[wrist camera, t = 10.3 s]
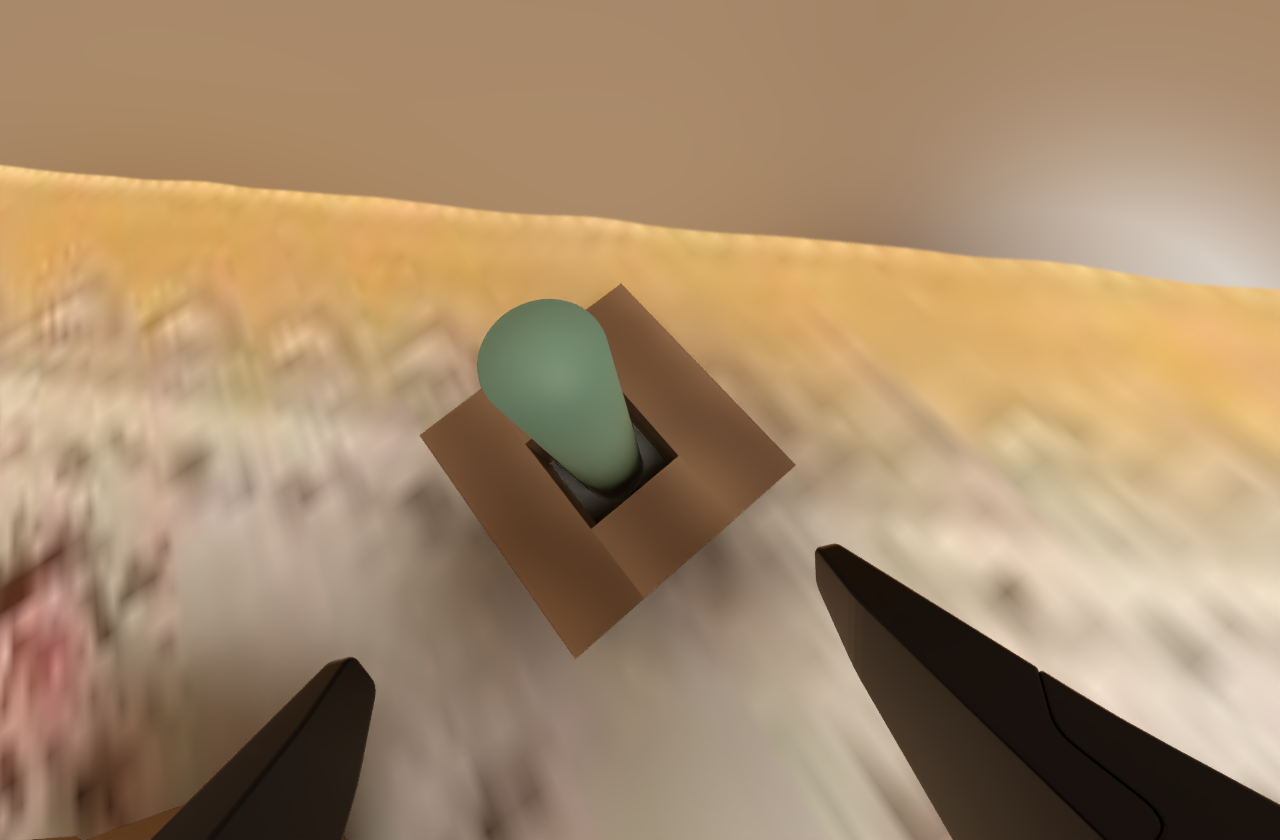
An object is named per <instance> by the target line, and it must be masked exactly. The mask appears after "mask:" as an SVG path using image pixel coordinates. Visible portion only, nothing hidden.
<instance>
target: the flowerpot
mask: <svg viewBox="0 0 1280 840" xmlns="http://www.w3.org/2000/svg"><path fill="white" fill-rule="evenodd" d="M183 806H184V805H182V806H180V807H177V808H174V809H171V810H169V811H166V812H163V813H160V814H157V815H155V816H152V817H149V818H146V819H143V820H141V821H138V822H135V823H132V824H129V825H127V826H124V827H121V828H118V829H115V830H113V831H110V832H107V833H104V834H101V835H99V836H96V837H93V838H90V839H87V840H150V839H151V838H152V837H153V836H154V835H155V834H156V833H157V832H158V831H159V830H160V829H161V828H162V827H163V826H164V825H165V824H166V823H167V822H168V821H169V820H170V819H171V818H172V817H173V816H174V815H175V814H176V813H177V812H178V811H179V810H180V809H181V808H182V807H183ZM34 840H81V839H80V838H79V837H77V836H72V837H59V838H46V839H34ZM342 840H345V837H344V835H343V839H342Z"/></svg>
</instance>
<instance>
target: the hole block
mask: <svg viewBox="0 0 1280 840" xmlns="http://www.w3.org/2000/svg"><path fill="white" fill-rule="evenodd" d="M586 311H588V312H589V313H590V314H591V315H592V316H593V317H594V318H595V319H596V320H597V321H598V322H599V324H600V325H601V327H602V329H603V330H604V333H605V335H606V338H607V341H608V344H609V348H610V351H611V355H612V358H613V362H614V365H615V368H616V372H617V375H618V379H619V382H620V386H621V389H622V392H623V396H624V399H625V403H626V406H627V410H628V413H629V416H630V419H631V421H632V422H633V423H634V424H635V425H636V426H637V427H638V429H639V430H640V431H641V432H642V433H643V434H644V436H645V437H646V438H647V439H648V440H649V441H650V442H651V444H652V445H653V446H654V447H655V448H656V449H657V450H658V452H659V453H660V454H661V455H662V456H663V457H664V459H665V460H666V461H667V462H668V463H669V464H668V465H667V466H666V467H665V468H664V469H662V470H661V471H660V472H659V473H658V474H657V475H655V476H654V477H653V478H652V479H651V480H649V481H648V482H647V483H646V484H645V485H643V486H642V487H641V488H640V489H639V490H637V491H636V492H635V493H634V494H633V495H631V496H630V497H629V498H628V499H627V500H625V501H624V502H623V503H622V504H621V505H619V506H618V507H617V508H616V509H615V510H613V511H612V512H611V513H610V514H609V515H607V516H606V517H605V518H604V519H603V520H602V521H600V522H599V523H598V524H596V522H595V521H594V520H593V519H592V517H591V516H590V515H589V513H588V512H587V511H586V510H585V508H584V507H583V506H582V504H581V503H580V502H579V501H578V499H577V498H576V497H575V495H574V494H573V493H572V492H571V490H570V489H569V488H568V486H567V485H566V484H565V483H564V481H563V480H562V479H561V477H560V476H559V475H558V474H557V472H556V471H555V470H554V468H553V467H552V466H551V465H550V462H551V461H553V460H554V458H553V457H552V456H551V455H550V454H549V453H548V452H546V451H545V450H544V449H543V448H542V447H541V446H540V445H538V444H537V443H536V442H535V441H534V440H533V439H532V438H530V437H529V436H528V435H527V434H526V433H525V432H524V431H522V430H521V429H520V428H519V427H518V426H517V425H516V424H514V423H513V422H512V421H511V420H510V419H509V418H508V417H506V416H505V415H504V414H503V413H502V412H501V411H500V410H499V409H497V408H496V407H495V406H494V405H493V404H492V403H491V402H490V401H489V399H488V398H487V396H486V395H485V393H484V391H483V389H481V390H479V391H478V392H477V393H475V394H474V395H473V396H471V397H470V398H469V399H467V400H466V401H465V402H463V403H462V404H461V405H459V406H458V407H457V408H455V409H454V410H453V411H451V412H450V413H449V414H447V415H446V416H445V417H443V418H442V419H441V420H439V421H438V422H437V423H435V424H434V425H433V426H431V427H430V428H429V429H427V430H426V431H425V432H423V433H422V434H421V435H420V437H421V438H422V439H423V441H424V442H425V444H426V445H427V447H428V448H429V450H430V451H431V452H432V454H433V455H434V457H435V458H436V460H437V461H438V462H439V464H440V465H441V467H442V468H443V470H444V471H445V473H446V474H447V475H448V477H449V478H450V480H451V481H452V483H453V484H454V485H455V487H456V488H457V490H458V491H459V493H460V494H461V496H462V497H463V498H464V500H465V501H466V503H467V504H468V506H469V507H470V508H471V510H472V511H473V513H474V514H475V516H476V517H477V519H478V520H479V521H480V523H481V524H482V526H483V527H484V529H485V530H486V532H487V533H488V534H489V536H490V537H491V539H492V540H493V542H494V543H495V544H496V546H497V547H498V549H499V550H500V552H501V553H502V555H503V556H504V557H505V559H506V560H507V562H508V563H509V565H510V566H511V567H512V569H513V570H514V572H515V573H516V575H517V576H518V578H519V579H520V580H521V582H522V583H523V585H524V586H525V588H526V589H527V590H528V592H529V593H530V595H531V596H532V598H533V599H534V601H535V602H536V603H537V605H538V606H539V608H540V609H541V611H542V612H543V614H544V615H545V616H546V618H547V619H548V621H549V622H550V624H551V625H552V626H553V628H554V629H555V631H556V632H557V634H558V635H559V637H560V638H561V639H562V641H563V642H564V644H565V645H566V647H567V648H568V649H569V651H570V652H571V654H572V655H573V657H574V658H575V659H576V658H577V657H578V656H579V655H580V654H582V653H583V652H584V651H585V650H586V649H587V648H588V647H590V646H591V645H592V644H593V643H594V642H595V641H596V640H597V639H599V638H600V637H601V636H602V635H603V634H604V633H605V632H607V631H608V630H609V629H610V628H611V627H612V626H613V625H615V624H616V623H617V622H618V621H619V620H620V619H621V618H622V617H624V616H625V615H626V614H627V613H628V612H629V611H630V610H632V609H633V608H634V607H635V606H636V605H637V604H638V603H640V602H641V601H642V600H643V599H644V598H645V597H646V596H648V595H649V594H650V593H651V592H652V591H653V590H654V589H655V588H657V587H658V586H659V585H660V584H661V583H662V582H663V581H665V580H666V579H667V578H668V577H669V576H670V575H671V574H673V573H674V572H675V571H676V570H677V569H678V568H679V567H680V566H682V565H683V564H684V563H685V562H686V561H687V560H688V559H690V558H691V557H692V556H693V555H694V554H695V553H696V552H698V551H699V550H700V549H701V548H702V547H703V546H704V545H705V544H707V543H708V542H709V541H710V540H711V539H712V538H713V537H715V536H716V535H717V534H718V533H719V532H720V531H721V530H723V529H724V528H725V527H726V526H727V525H728V524H729V523H731V522H732V521H733V520H734V519H735V518H736V517H737V516H738V515H740V514H741V513H742V512H743V511H744V510H745V509H746V508H748V507H749V506H750V505H751V504H752V503H753V502H754V501H756V500H757V499H758V498H759V497H760V496H761V495H762V494H763V493H765V492H766V491H767V490H768V489H769V488H770V487H771V486H773V485H774V484H775V483H776V482H777V481H778V480H779V479H781V478H782V477H783V476H784V475H785V474H786V473H787V472H788V471H790V470H791V469H792V468H793V467H794V466H795V464H794V463H793V462H792V461H791V460H790V459H789V458H788V457H787V456H786V454H785V453H784V452H783V451H782V450H781V449H780V448H779V447H778V446H777V445H776V444H775V443H774V442H773V441H772V440H771V439H770V438H769V437H768V436H767V435H766V434H765V433H764V432H763V431H762V430H761V429H760V427H759V426H758V425H757V424H756V423H755V422H754V421H753V420H752V419H751V418H750V417H749V416H748V415H747V414H746V413H745V412H744V411H743V410H742V409H741V408H740V407H739V406H738V405H737V404H736V403H735V401H734V400H733V399H732V398H731V397H730V396H729V395H728V394H727V393H726V392H725V391H724V390H723V389H722V388H721V387H720V386H719V385H718V384H717V383H716V382H715V381H714V380H713V379H712V378H711V377H710V375H709V374H708V373H707V372H706V371H705V370H704V369H703V368H702V367H701V366H700V365H699V364H698V363H697V362H696V361H695V360H694V359H693V358H692V357H691V356H690V355H689V354H688V353H687V352H686V351H685V349H684V348H683V347H682V346H681V345H680V344H679V343H678V342H677V341H676V340H675V339H674V338H673V337H672V336H671V335H670V334H669V333H668V332H667V331H666V330H665V329H664V328H663V327H662V326H661V325H660V324H659V322H658V321H657V320H656V319H655V318H654V317H653V316H652V315H651V314H650V313H649V312H648V311H647V310H646V309H645V308H644V307H643V306H642V305H641V304H640V303H639V302H638V301H637V300H636V299H635V298H634V296H633V295H632V294H631V293H630V292H629V291H628V290H627V289H626V288H625V287H624V286H623V285H622V284H620V285H619V286H617V287H616V288H615V289H613V290H612V291H611V292H609V293H608V294H607V295H605V296H604V297H603V298H601V299H600V300H599V301H597V302H596V303H595V304H593V305H592V306H591V307H589V308H588V309H587V310H586Z"/></svg>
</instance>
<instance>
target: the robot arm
mask: <svg viewBox="0 0 1280 840" xmlns="http://www.w3.org/2000/svg"><path fill="white" fill-rule="evenodd" d="M815 568H816V582H817V586H818V588H819V591H820V593H821V596H822V598H823V600H824V602H825V605H826V607H827V609H828V611H829V614H830V616H831V618H832V620H833V622H834V625H835V627H836V629H837V631H838V634H839V636H840V638H841V640H842V643H843V645H844V647H845V649H846V652H847V654H848V656H849V658H850V660H851V662H852V665H853V667H854V669H855V671H856V672H857V674H858V676H859V678H860V680H861V682H862V683H863V685H864V687H865V688H866V690H867V692H868V694H869V695H870V697H871V699H872V701H873V702H874V704H875V706H876V708H877V709H878V711H879V713H880V714H881V716H882V718H883V720H884V721H885V723H886V725H887V727H888V728H889V730H890V732H891V734H892V735H893V737H894V739H895V740H896V742H897V744H898V746H899V747H900V749H901V751H902V753H903V754H904V756H905V758H906V760H907V761H908V763H909V765H910V766H911V768H912V770H913V772H914V773H915V775H916V777H917V779H918V780H919V782H920V784H921V786H922V787H923V789H924V791H925V792H926V794H927V796H928V798H929V799H930V801H931V803H932V805H933V806H934V808H935V810H936V812H937V813H938V815H939V817H940V818H941V820H942V822H943V824H944V825H945V827H946V829H947V831H948V832H949V834H950V836H951V838H952V839H953V840H1280V804H1278V803H1276V802H1274V801H1272V800H1270V799H1269V798H1267V797H1265V796H1263V795H1261V794H1259V793H1257V792H1256V791H1254V790H1252V789H1250V788H1248V787H1246V786H1244V785H1243V784H1241V783H1239V782H1237V781H1235V780H1233V779H1231V778H1230V777H1228V776H1226V775H1224V774H1222V773H1220V772H1218V771H1217V770H1215V769H1213V768H1211V767H1209V766H1207V765H1205V764H1204V763H1202V762H1200V761H1198V760H1196V759H1194V758H1192V757H1191V756H1189V755H1187V754H1185V753H1183V752H1181V751H1179V750H1178V749H1176V748H1174V747H1172V746H1170V745H1168V744H1167V743H1165V742H1163V741H1161V740H1159V739H1158V738H1156V737H1154V736H1152V735H1150V734H1149V733H1147V732H1145V731H1143V730H1141V729H1140V728H1138V727H1136V726H1134V725H1133V724H1131V723H1129V722H1127V721H1125V720H1124V719H1122V718H1120V717H1118V716H1116V715H1115V714H1113V713H1111V712H1110V711H1108V710H1106V709H1105V708H1103V707H1101V706H1100V705H1098V704H1096V703H1095V702H1093V701H1091V700H1090V699H1088V698H1086V697H1085V696H1083V695H1081V694H1080V693H1078V692H1076V691H1075V690H1073V689H1071V688H1070V687H1068V686H1066V685H1065V684H1063V683H1062V682H1060V681H1058V680H1057V679H1055V678H1054V677H1052V676H1050V675H1049V674H1047V673H1046V672H1044V671H1040V672H1039V671H1038V669H1037V667H1035V666H1034V665H1032V664H1031V663H1029V662H1027V661H1026V660H1024V659H1023V658H1021V657H1019V656H1018V655H1016V654H1015V653H1013V652H1011V651H1010V650H1008V649H1007V648H1005V647H1003V646H1002V645H1000V644H999V643H997V642H995V641H994V640H992V639H990V638H989V637H987V636H986V635H984V634H982V633H981V632H979V631H978V630H976V629H974V628H973V627H971V626H970V625H968V624H966V623H965V622H963V621H962V620H960V619H958V618H957V617H955V616H953V615H952V614H950V613H949V612H947V611H945V610H944V609H942V608H941V607H939V606H937V605H936V604H934V603H933V602H931V601H929V600H928V599H926V598H925V597H923V596H921V595H920V594H918V593H916V592H915V591H913V590H912V589H910V588H908V587H907V586H905V585H904V584H902V583H900V582H899V581H897V580H896V579H894V578H892V577H891V576H889V575H888V574H886V573H884V572H883V571H881V570H879V569H878V568H876V567H875V566H873V565H871V564H870V563H868V562H867V561H865V560H863V559H862V558H860V557H859V556H857V555H855V554H854V553H852V552H850V551H849V550H847V549H846V548H844V547H842V546H841V545H838V544H830V545H826V546H822V547H818V548H817V549H816V551H815ZM375 691H376V689H375V684H374V681H373V680H372V678H371V677H370V676H369V674H368V673H367V672H366V671H365V669H364V668H363V667H362V665H361V664H360V663H359V661H358V660H357V659H356V658H353V657H347V658H343V659H339V660H335V661H332V662H330V663H328V664H327V665H326V666H325V667H324V668H323V669H322V670H321V671H320V672H319V673H317V674H316V675H315V676H314V677H313V678H312V679H311V680H310V681H309V682H308V683H307V684H306V685H305V686H304V687H303V688H302V689H301V690H300V691H299V692H298V693H297V694H296V695H295V696H294V697H293V698H292V699H291V700H290V701H289V702H288V703H287V704H286V705H285V706H284V707H283V708H282V709H281V710H280V711H279V712H278V713H277V714H276V715H275V716H274V717H273V718H272V719H271V720H270V721H269V722H268V723H267V724H266V725H265V726H264V727H263V728H262V729H261V730H260V731H259V732H258V733H257V734H256V735H255V736H254V737H253V738H252V739H251V740H250V741H249V742H248V743H247V744H246V745H245V746H244V747H243V748H242V749H241V750H240V751H239V752H238V753H237V754H236V755H235V756H234V757H233V758H232V759H231V760H230V761H229V762H228V763H227V764H226V765H225V766H224V767H223V768H222V769H221V770H220V771H219V772H218V773H217V774H216V775H215V776H214V777H213V778H212V779H211V780H209V781H208V782H207V783H206V784H205V785H204V786H203V787H202V788H201V789H200V790H199V791H198V792H197V793H196V794H195V795H194V796H193V797H192V798H191V799H190V800H189V801H188V802H187V803H186V804H185V805H184V806H183V807H182V808H181V809H180V810H179V811H178V812H177V813H176V814H175V815H174V816H173V817H172V818H171V819H170V820H169V821H168V822H167V823H166V824H165V825H164V826H163V827H162V828H161V829H160V830H159V831H158V832H157V833H156V834H155V835H154V836H153V837H152V838H151V839H150V840H342V839H343V835H344V832H345V828H346V825H347V821H348V818H349V814H350V811H351V807H352V804H353V800H354V796H355V793H356V789H357V785H358V781H359V776H360V772H361V767H362V762H363V757H364V751H365V746H366V741H367V736H368V731H369V726H370V720H371V715H372V710H373V705H374V700H375Z"/></svg>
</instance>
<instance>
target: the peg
mask: <svg viewBox="0 0 1280 840" xmlns="http://www.w3.org/2000/svg"><path fill="white" fill-rule="evenodd" d="M477 368H478V377H479V381H480V384H481V387H482V389H483V391H484V393H485V395H486V396H487V398H488V399H489V401H490V402H491V403H492V404H493V405H494V406H495V407H496V408H497V409H499V410H500V411H501V412H502V413H503V414H504V415H505V416H506V417H508V418H509V419H510V420H511V421H512V422H513V423H514V424H516V425H517V426H518V427H519V428H520V429H521V430H522V431H524V432H525V433H526V434H527V435H528V436H529V437H530V438H532V439H533V440H534V441H535V442H536V443H537V444H538V445H540V446H541V447H542V448H543V449H544V450H545V451H546V452H548V453H549V454H550V455H551V456H552V457H553V458H554V459H556V460H557V461H558V462H559V463H560V464H561V465H562V466H564V467H565V468H566V469H567V470H568V471H569V472H570V473H572V474H573V475H574V476H575V477H576V478H577V479H578V480H579V481H581V482H582V483H583V484H584V485H585V486H586V487H587V488H589V489H590V490H591V491H592V492H593V493H595V494H596V495H598V496H600V497H602V498H606V499H618V498H622V497H624V496H627V495H628V494H630V493H631V492H632V491H634V490H635V489H636V487H637V486H638V485H639V483H640V481H641V478H642V475H643V461H642V458H641V454H640V451H639V447H638V444H637V440H636V437H635V434H634V430H633V427H632V423H631V420H630V416H629V413H628V410H627V406H626V403H625V399H624V396H623V392H622V389H621V386H620V382H619V379H618V375H617V372H616V368H615V365H614V362H613V358H612V355H611V351H610V348H609V344H608V341H607V338H606V335H605V333H604V330H603V329H602V327H601V325H600V324H599V322H598V321H597V320H596V319H595V318H594V317H593V316H592V315H591V314H590V313H589V312H588V311H586V310H585V309H583V308H582V307H580V306H578V305H576V304H573V303H570V302H567V301H562V300H555V299H542V300H536V301H531V302H528V303H525V304H522V305H520V306H518V307H516V308H514V309H512V310H510V311H509V312H507V313H506V314H504V315H503V316H502V317H501V318H500V319H499V320H497V322H496V323H495V324H494V325H493V326H492V327H491V329H490V330H489V331H488V333H487V334H486V336H485V338H484V340H483V342H482V345H481V347H480V351H479V355H478V363H477Z"/></svg>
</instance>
